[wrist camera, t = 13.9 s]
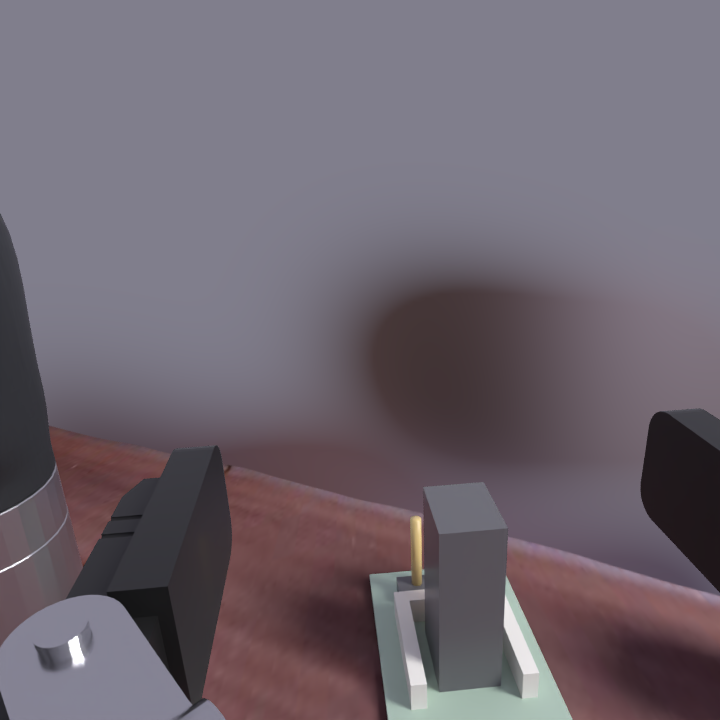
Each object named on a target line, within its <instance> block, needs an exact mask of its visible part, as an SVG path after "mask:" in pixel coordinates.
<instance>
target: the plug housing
mask: <svg viewBox="0 0 720 720" xmlns="http://www.w3.org/2000/svg"><path fill="white" fill-rule="evenodd" d="M423 498H424V500H423V503H424V504H423V505H424V581H425V633H426V637H427V641H428V646H429V650H430V654H431V658H432V663H433V667H434V671H435V675H436V680H437V684H438V688H439V692H448V691H458V690H468V689H477V688H487V687H497V686H501V675H502V652H503V630H504V608H505V585H506V563H507V540H508V527H507V526H506V523H505V522H504V520H503V518H502V516H501V514H500V512H499V510H498V509H497V507H496V505H495V503H494V501H493V499H492V497H491V496H490V493H489V492H488V490H487V488H486V486H485V484H484V482H480V483H468V484H456V485H444V486H432V487H423Z"/></svg>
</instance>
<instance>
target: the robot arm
mask: <svg viewBox="0 0 720 720" xmlns="http://www.w3.org/2000/svg"><path fill="white" fill-rule="evenodd" d="M641 498H642V502H643V505H644V508H645V510H646V512H647V514H648V515H649V517H650V518H651V520H652V521H653V522H654V523H655V524H656V525H657V526H658V527H659V528H660V529H661V530H662V531H663V532H664V533H665V535H666V536H668V538H669V539H670V540H671V541H672V542H673V543H674V544H675V545H676V546H677V547H678V548H679V549H680V550H681V552H682V553H683V554H684V555H685V556H686V557H688V559H689V560H690V561H691V562H692V563H693V564H694V565H695V567H696V568H697V569H698V570H699V571H700V572H701V573H702V574H703V575H704V576H705V577H706V578H707V579H708V580H709V581H710V583H712V585H713V586H714V587H715V588H716V589H717V590H718V591H719V592H720V420H719V419H718V418H716V417H714V416H713V415H711V414H710V413H708V412H707V411H705V410H702V409H686V410H674V411H660V412H657V413H656V414H654V416H653V417H652V419H651V421H650V424H649V430H648V437H647V445H646V452H645V458H644V465H643V472H642V479H641ZM101 535H102V538H101V539H99V540H98V542H97V543H96V545H95V547H94V549H93V551H92V552H91V554H90V556H89V558H88V560H87V561H86V563H85V565H84V567H83V566H82V562H81V558H80V554H79V551H78V547H77V543H76V539H75V535H74V531H73V527H72V523H71V519H70V515H69V511H68V507H67V505H66V501H65V497H64V493H63V489H62V485H61V481H60V477H59V473H58V469H57V465H56V462H55V457H54V454H53V450H52V445H51V441H50V434H49V425H48V416H47V408H46V402H45V396H44V391H43V386H42V382H41V377H40V373H39V369H38V364H37V360H36V354H35V349H34V344H33V339H32V334H31V328H30V323H29V317H28V311H27V305H26V300H25V294H24V288H23V283H22V278H21V274H20V269H19V264H18V260H17V257H16V253H15V250H14V247H13V243H12V240H11V237H10V234H9V231H8V229H7V227H6V225H5V223H4V220H3V218H2V216H1V214H0V720H226V719H225V718H224V717H223V715H222V714H221V713H220V711H219V710H218V709H217V708H216V707H215V706H214V704H213V703H211V702H210V701H209V700H207V699H205V698H203V699H201V698H202V693H203V688H204V684H205V679H206V674H207V669H208V664H209V659H210V654H211V649H212V644H213V639H214V634H215V629H216V624H217V620H218V615H219V610H220V605H221V600H222V595H223V590H224V585H225V580H226V575H227V570H228V565H229V560H230V555H231V546H232V528H231V518H230V511H229V504H228V497H227V490H226V484H225V477H224V470H223V463H222V458H221V453H220V449H219V447H218V446H217V445H216V446H203V447H190V448H177V449H174V450H173V452H172V454H171V456H170V458H169V460H168V462H167V465H166V467H165V469H164V471H163V473H162V475H161V477H160V478H150V479H143V480H142V481H141V482H140V483H139V484H137V485H136V486H135V487H134V488H133V489H131V490H130V491H129V492H128V493H127V494H125V495H124V496H123V497H122V498H121V500H120V502H119V504H118V506H117V507H116V509H115V511H114V513H113V515H112V516H111V521H109V522H108V524H107V525H106V527H105V529H104V531H103V533H102V534H101Z"/></svg>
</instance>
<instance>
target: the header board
mask: <svg viewBox="0 0 720 720" xmlns="http://www.w3.org/2000/svg"><path fill="white" fill-rule="evenodd" d="M410 529H411V571H404V572H393V573H382V574H370V586H371V593H372V601H373V609H374V617H375V625H376V633H377V640H378V648H379V656H380V664H381V672H382V680H383V688H384V695H385V703H386V711H387V719H388V720H572V717H571V715H570V713H569V711H568V709H567V707H566V704H565V702H564V700H563V698H562V696H561V694H560V691H559V689H558V687H557V685H556V683H555V681H554V678H553V676H552V674H551V672H550V670H549V668H548V665H547V663H546V661H545V659H544V657H543V655H542V652H541V650H540V648H539V646H538V644H537V642H536V639H535V637H534V635H533V633H532V631H531V629H530V626H529V624H528V622H527V620H526V618H525V616H524V613H523V611H522V609H521V607H520V605H519V603H518V600H517V598H516V596H515V594H514V592H513V590H512V587H511V585H510V583H509V581H508V579H507V577H506V585H505V608H504V630H503V652H502V675H501V686H497V687H487V688H477V689H468V690H458V691H448V692H439V688H438V684H437V680H436V675H435V671H434V667H433V663H432V658H431V654H430V650H429V646H428V641H427V637H426V633H425V581H424V570H422V547H421V518H420V517H419V516H412V517H411V518H410Z"/></svg>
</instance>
